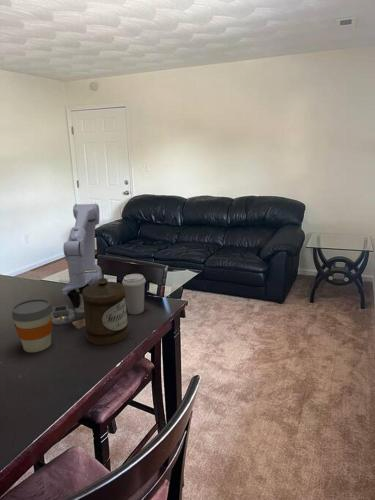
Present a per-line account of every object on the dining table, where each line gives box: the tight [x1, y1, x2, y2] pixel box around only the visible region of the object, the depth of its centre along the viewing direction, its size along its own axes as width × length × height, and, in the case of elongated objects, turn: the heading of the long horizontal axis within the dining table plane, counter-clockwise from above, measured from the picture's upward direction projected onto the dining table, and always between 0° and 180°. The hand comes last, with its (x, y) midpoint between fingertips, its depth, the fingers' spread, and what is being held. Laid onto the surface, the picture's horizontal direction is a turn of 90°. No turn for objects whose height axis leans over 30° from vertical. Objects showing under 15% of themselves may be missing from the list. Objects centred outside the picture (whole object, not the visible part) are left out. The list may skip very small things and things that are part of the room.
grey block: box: [74, 291, 84, 313], centre depth 141 cm, size 5×3×7 cm, turn 84°
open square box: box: [52, 304, 70, 319], centre depth 145 cm, size 6×8×2 cm
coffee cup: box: [121, 273, 147, 315], centre depth 151 cm, size 10×10×15 cm
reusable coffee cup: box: [11, 298, 53, 353], centre depth 126 cm, size 13×13×15 cm
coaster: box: [71, 317, 86, 330], centre depth 143 cm, size 6×6×1 cm
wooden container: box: [83, 277, 129, 346], centre depth 132 cm, size 15×15×22 cm
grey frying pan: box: [51, 308, 76, 326], centre depth 145 cm, size 18×10×2 cm, turn 127°
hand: (80, 305), depth 141 cm, fingers closed on grey block, 4 cm apart
